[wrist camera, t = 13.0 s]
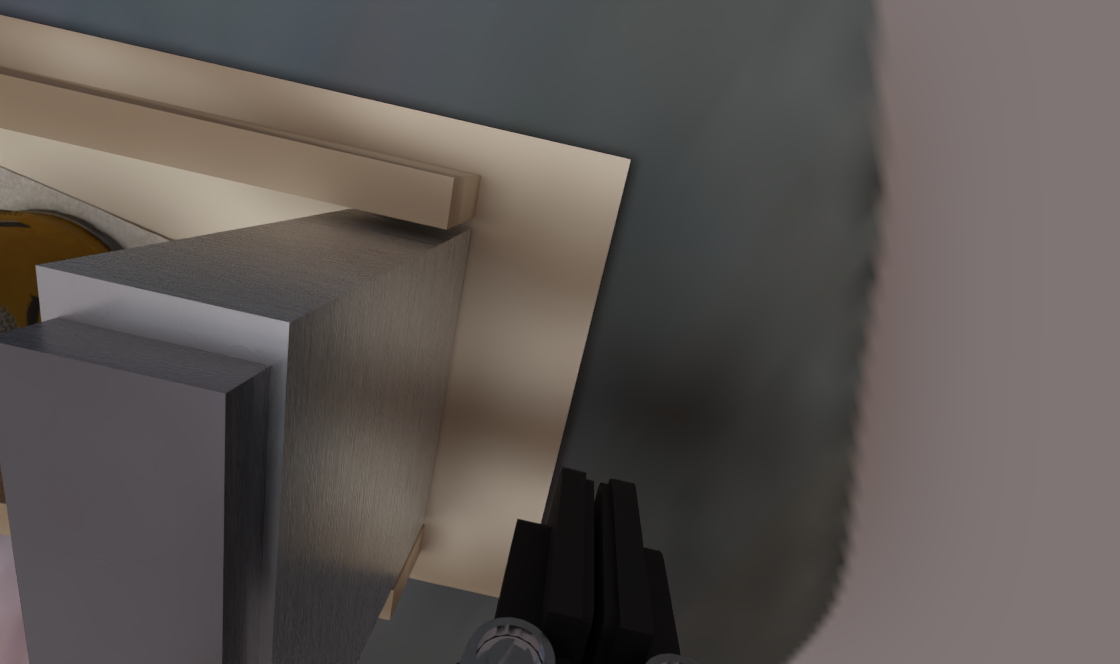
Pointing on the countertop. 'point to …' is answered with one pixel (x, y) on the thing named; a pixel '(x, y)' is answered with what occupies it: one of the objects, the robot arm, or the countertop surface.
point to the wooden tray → (338, 184)
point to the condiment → (49, 241)
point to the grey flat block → (227, 439)
